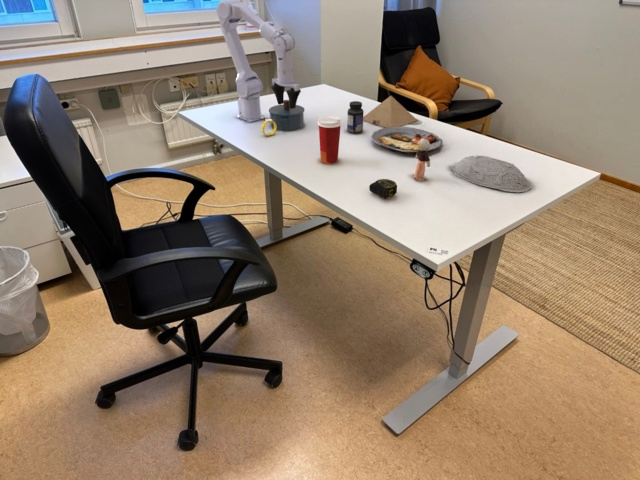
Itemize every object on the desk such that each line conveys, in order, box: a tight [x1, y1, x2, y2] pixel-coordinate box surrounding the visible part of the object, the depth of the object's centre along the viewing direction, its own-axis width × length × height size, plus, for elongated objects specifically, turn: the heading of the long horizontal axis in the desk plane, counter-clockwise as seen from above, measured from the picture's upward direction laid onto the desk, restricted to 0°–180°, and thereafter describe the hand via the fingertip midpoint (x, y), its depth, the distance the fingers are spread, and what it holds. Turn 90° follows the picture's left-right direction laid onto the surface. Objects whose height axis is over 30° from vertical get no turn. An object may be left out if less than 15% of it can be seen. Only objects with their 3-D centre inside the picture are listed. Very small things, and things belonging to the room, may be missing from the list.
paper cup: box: [317, 115, 342, 165], centre depth 145 cm, size 8×8×14 cm
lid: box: [268, 99, 305, 116], centre depth 175 cm, size 14×14×4 cm
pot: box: [269, 111, 305, 132], centre depth 177 cm, size 13×18×6 cm
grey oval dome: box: [450, 154, 532, 193], centre depth 137 cm, size 16×25×7 cm, turn 44°
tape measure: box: [368, 178, 398, 200], centre depth 127 cm, size 7×7×4 cm
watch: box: [260, 118, 277, 137], centre depth 168 cm, size 6×3×6 cm, turn 127°
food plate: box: [370, 126, 443, 154], centre depth 161 cm, size 25×23×4 cm
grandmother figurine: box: [411, 139, 431, 182], centre depth 134 cm, size 8×4×13 cm, turn 29°
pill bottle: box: [346, 100, 364, 135], centre depth 170 cm, size 6×6×11 cm
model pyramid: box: [363, 95, 418, 128], centre depth 182 cm, size 17×17×10 cm
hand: (286, 106), depth 175 cm, fingers open, 7 cm apart
